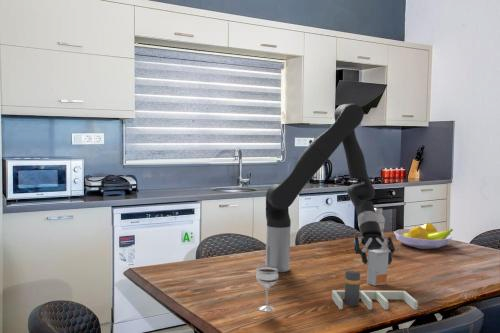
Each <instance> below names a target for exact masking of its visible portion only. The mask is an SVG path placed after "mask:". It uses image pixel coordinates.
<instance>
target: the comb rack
mask: <svg viewBox="0 0 500 333" xmlns="http://www.w3.org/2000/svg"><path fill="white" fill-rule="evenodd" d="M331 299H332V301H333V302H334V303H335V305H336V307H337V306H338V307H337V308H338V310H343V309H344V306H343V305H344V301H343V300H345V289H344V290H339V289H338V290H333V289H332V290H331ZM360 299H361V300H360ZM359 300H360V301H361V303H363V304H364V306H365V305H366V306H367V307H366V306H365V307H366V308H367V309H368V310H373V300H375V301H376V302H377V301H378V302H379V303H380V304H379V305H380V306H381V307H382V308H383V309H384V310H389V300H402V301H404V302H405V303H406V304H407V305H408V306H410V307H411V309H413V310H414V311H416V310H418V300H417V299H415V298H414V297H413V296H411V294H409V293H408V292H407V291H406V290H359ZM378 302H377V303H378Z"/></svg>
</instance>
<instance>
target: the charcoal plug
mask: <svg viewBox="0 0 500 333" xmlns="http://www.w3.org/2000/svg"><path fill="white" fill-rule="evenodd" d="M360 286H361V272H360V271H356V270H346V271H345V276H344V290H345V299H344V301H343V304H344V303H345V304H344V305H345V306H347V305H348V306H347V307H351V306H353V307H354V306H356V307H359V306H358V305H360V299H359V291H360Z"/></svg>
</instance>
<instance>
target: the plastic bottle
mask: <svg viewBox="0 0 500 333" xmlns="http://www.w3.org/2000/svg"><path fill="white" fill-rule="evenodd" d="M374 209H375V213H376V216H377V219H378V222H379V226H380V230H381V234H382V237H383V239H385V237H384V231H385V230H384V229H385V222H386V217H385V216H384V215H383V208H382V207H374ZM383 243H384V244H385V242H383ZM381 248H382V246H381Z"/></svg>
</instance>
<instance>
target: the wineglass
mask: <svg viewBox="0 0 500 333" xmlns="http://www.w3.org/2000/svg"><path fill="white" fill-rule="evenodd" d="M278 270H279V269H278V268H276V267H272V266H265V265H261V266H257V267H256V271H257V272H256V273H255V277H256V281H257V282H258V283H259V284H260V285H261V286H263V288H265V305H261V306H258V310H259V311H260V312H261V311H262V312H267V313H268V312H273V311H275V307H274V306H272V305H268V298H269V297H268V296H269V288H270V287H272V286H274V285H276V283H277V282H278V280H279V277H280V276H279V272H278Z"/></svg>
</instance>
